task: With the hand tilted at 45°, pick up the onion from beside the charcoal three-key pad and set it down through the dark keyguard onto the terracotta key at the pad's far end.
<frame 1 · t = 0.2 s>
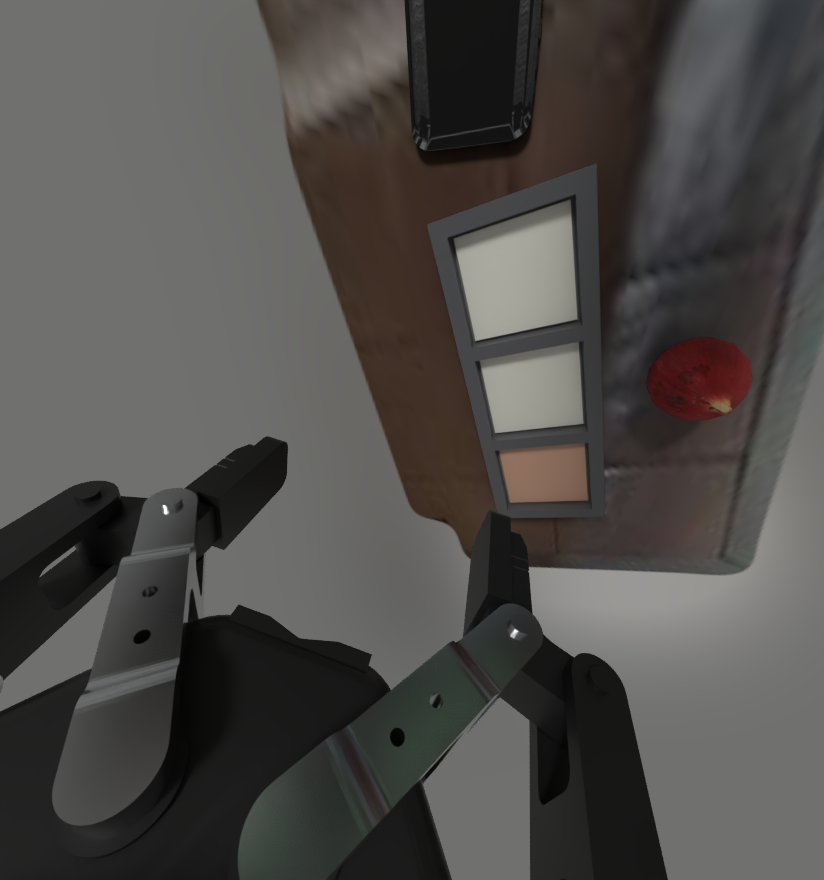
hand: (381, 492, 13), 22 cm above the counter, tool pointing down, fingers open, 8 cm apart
keypad: (532, 384, 32), on the counter
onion: (677, 358, 28), on the counter
terracotta key: (543, 464, 37), resting on keypad
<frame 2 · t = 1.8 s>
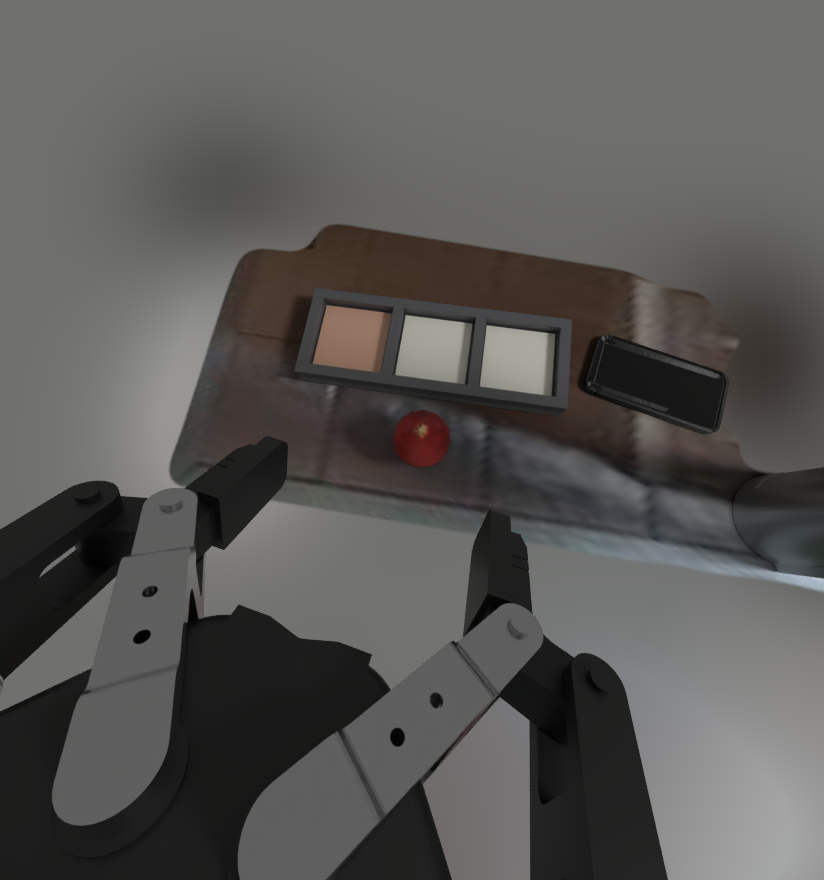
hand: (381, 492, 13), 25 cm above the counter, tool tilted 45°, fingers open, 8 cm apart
keypad: (433, 356, 42), on the counter
phone: (650, 386, 41), on the counter
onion: (421, 447, 39), on the counter
terracotta key: (355, 345, 42), resting on keypad
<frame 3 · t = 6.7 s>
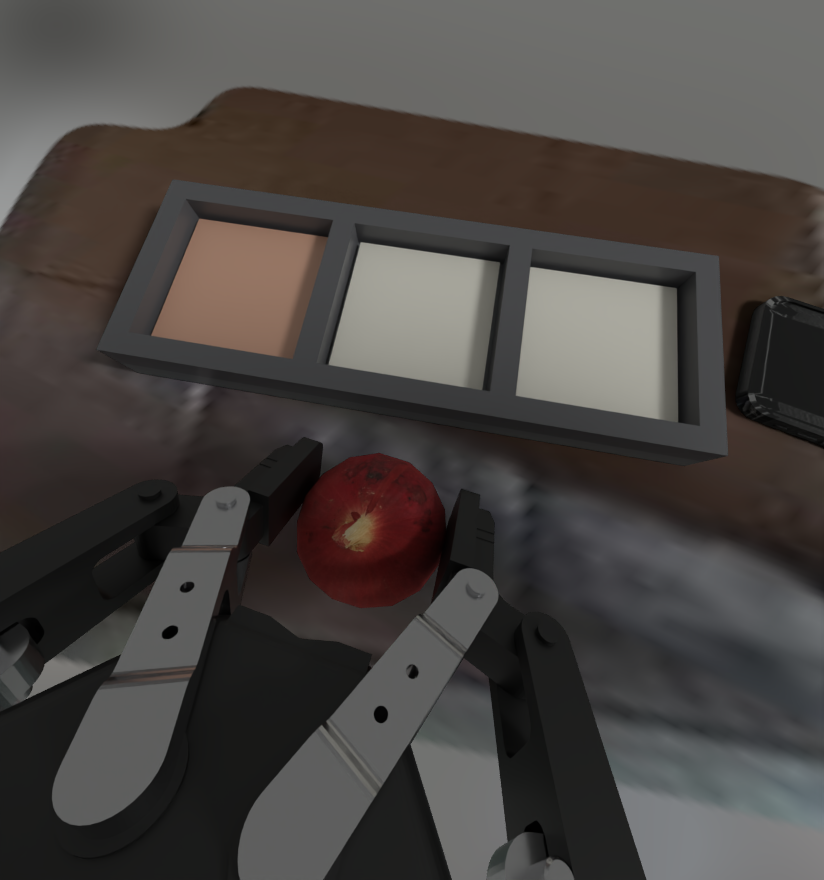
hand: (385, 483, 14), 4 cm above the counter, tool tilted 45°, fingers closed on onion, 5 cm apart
keypad: (417, 329, 20), on the counter
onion: (382, 527, 18), on the counter, touching gripper
terracotta key: (257, 304, 21), resting on keypad
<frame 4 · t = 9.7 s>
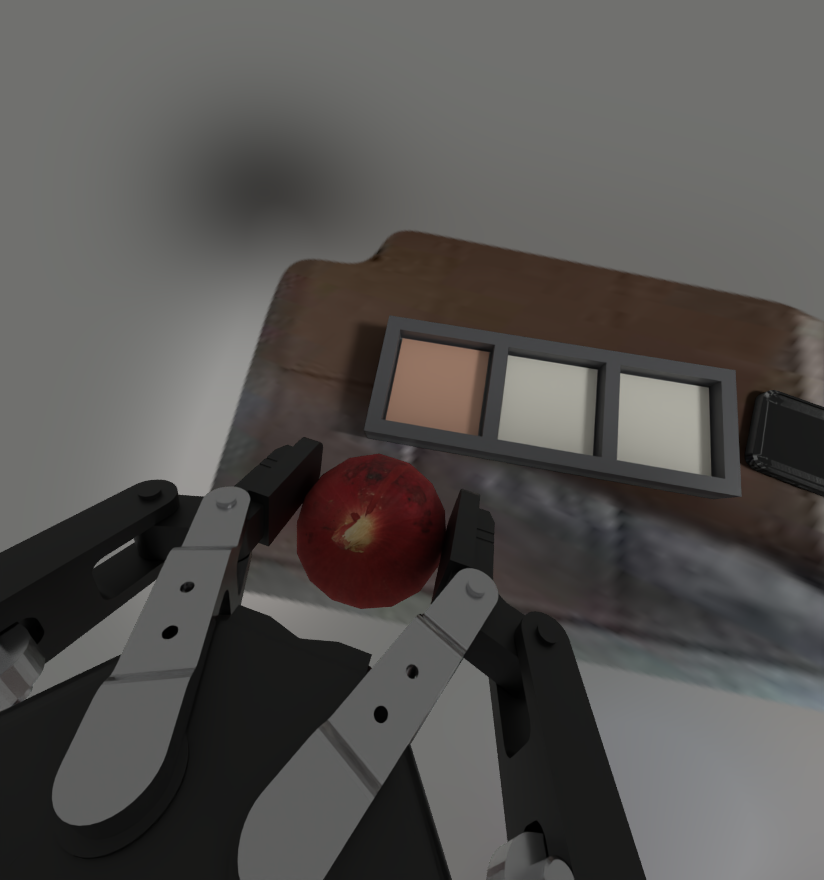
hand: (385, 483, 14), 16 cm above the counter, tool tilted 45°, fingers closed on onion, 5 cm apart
keypad: (542, 409, 32), on the counter
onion: (381, 527, 18), point 12 cm above the counter, touching gripper
terracotta key: (437, 392, 32), resting on keypad
when the fingers open (7 cm above the counter, at t = 13.0 s): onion stays where it is, resting on terracotta key.
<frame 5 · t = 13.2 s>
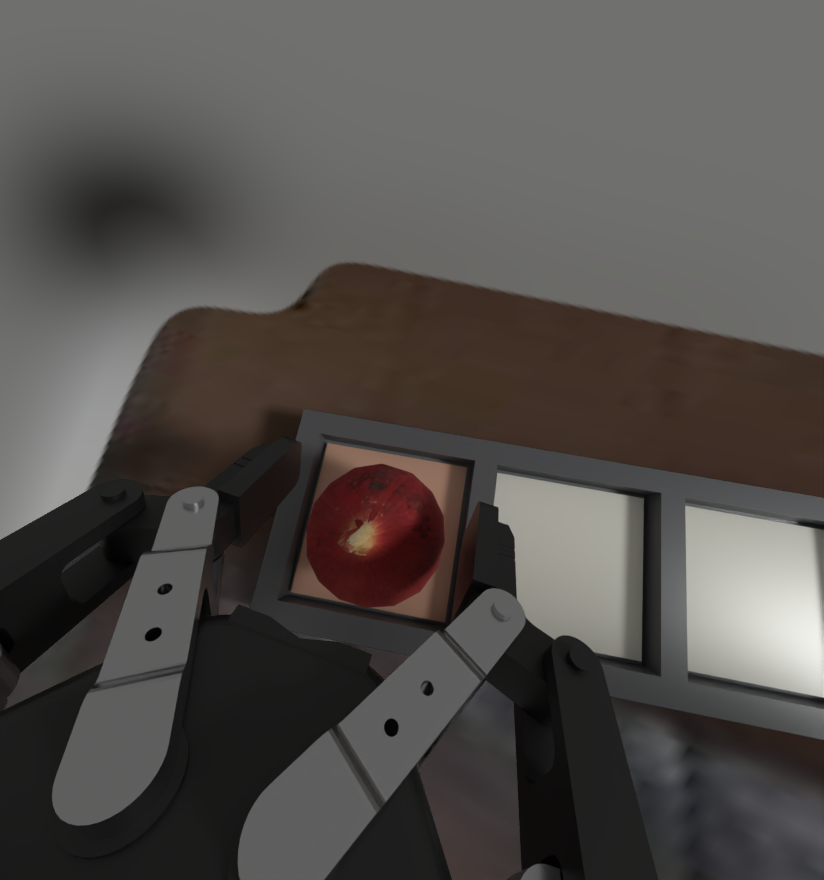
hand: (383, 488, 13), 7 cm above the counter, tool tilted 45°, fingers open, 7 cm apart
keypad: (552, 558, 20), on the counter
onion: (386, 532, 19), point 1 cm above the counter, touching terracotta key
terracotta key: (385, 527, 20), resting on keypad
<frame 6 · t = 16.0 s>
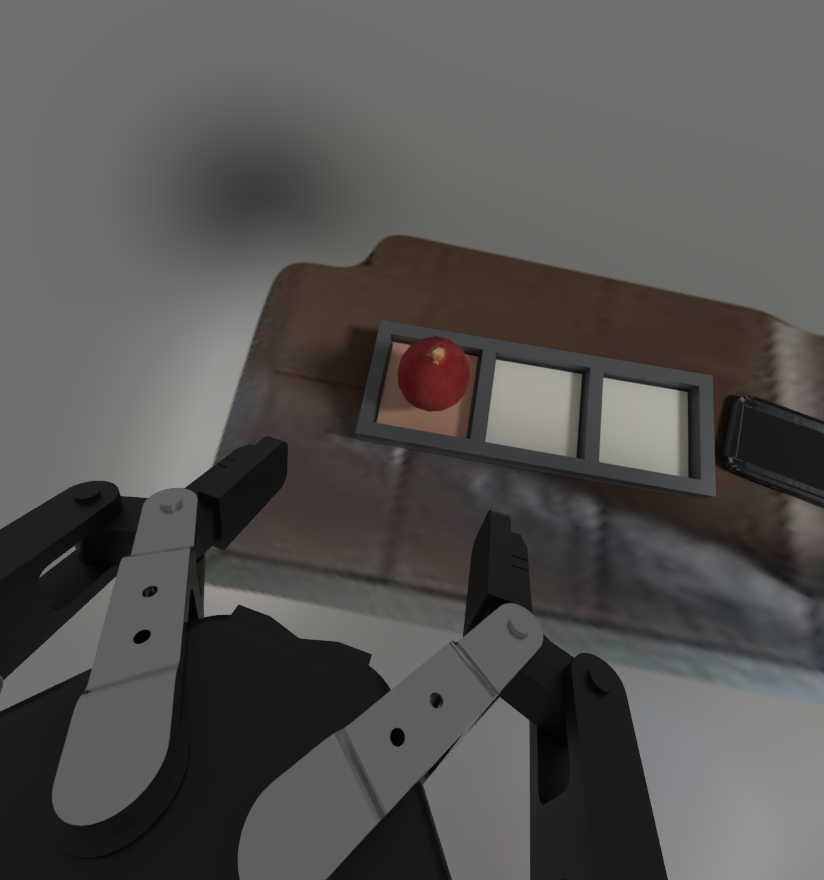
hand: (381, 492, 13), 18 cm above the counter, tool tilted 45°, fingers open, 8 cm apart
keypad: (528, 412, 33), on the counter
phone: (800, 461, 33), on the counter
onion: (430, 392, 31), point 1 cm above the counter, touching terracotta key
terracotta key: (427, 395, 33), resting on keypad
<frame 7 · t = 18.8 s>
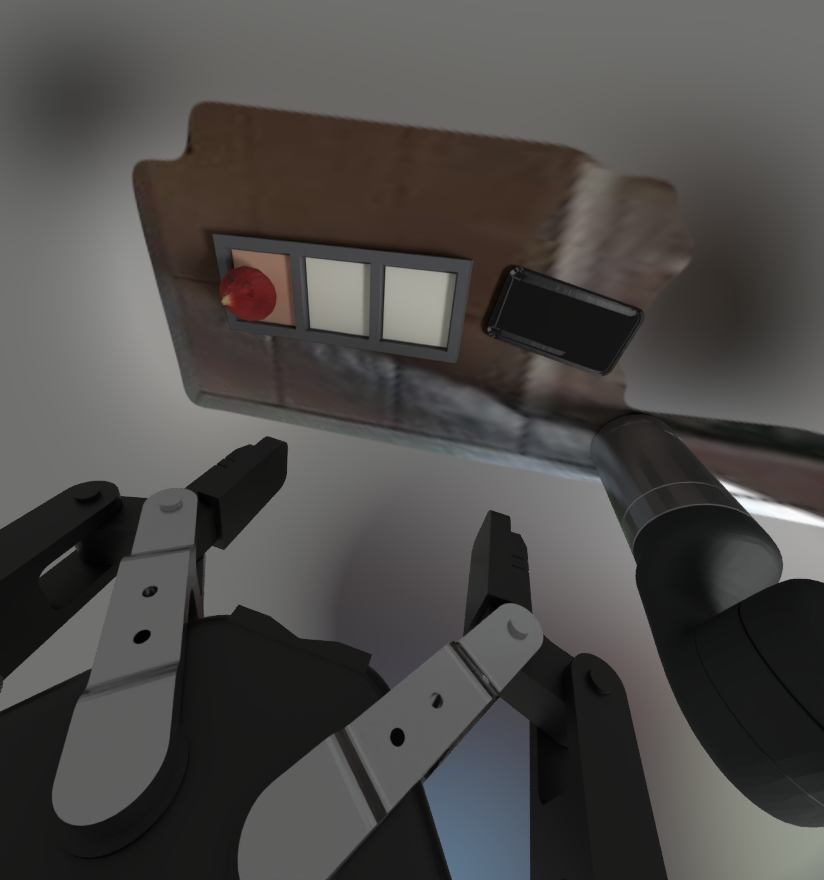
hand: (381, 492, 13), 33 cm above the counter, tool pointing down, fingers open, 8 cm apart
keypad: (344, 296, 43), on the counter
phone: (559, 322, 39), on the counter
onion: (268, 290, 43), point 1 cm above the counter, touching terracotta key
terracotta key: (273, 287, 44), resting on keypad
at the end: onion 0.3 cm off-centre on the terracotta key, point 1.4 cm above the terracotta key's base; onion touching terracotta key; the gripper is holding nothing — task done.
